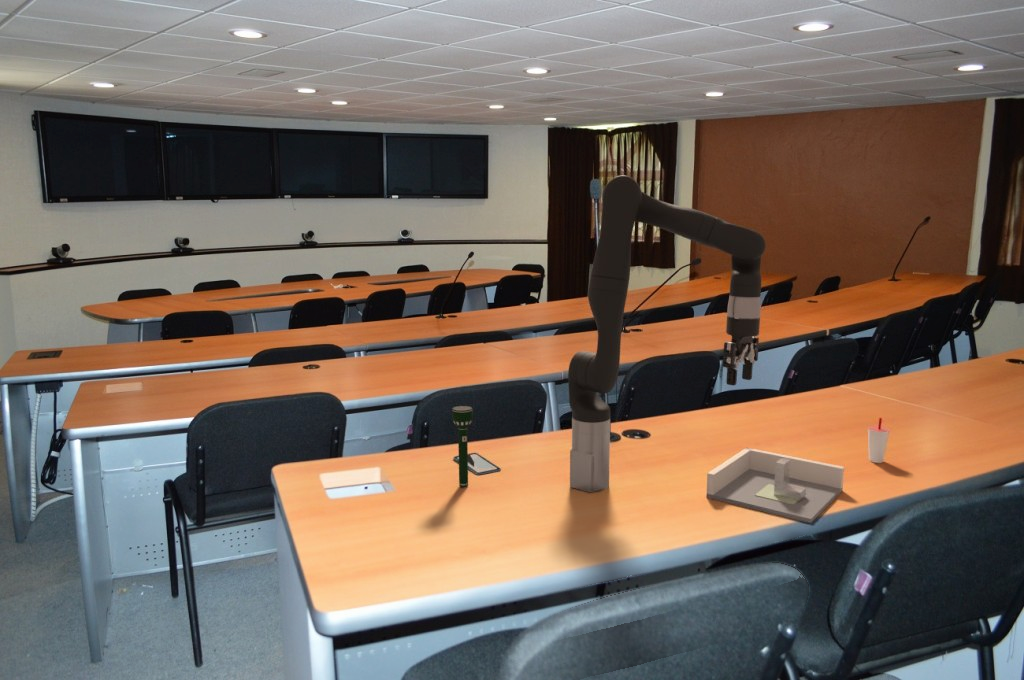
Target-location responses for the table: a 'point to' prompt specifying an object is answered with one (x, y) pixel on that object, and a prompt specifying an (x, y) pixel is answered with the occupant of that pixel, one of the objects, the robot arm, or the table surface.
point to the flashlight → (462, 439)
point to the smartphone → (479, 464)
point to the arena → (754, 478)
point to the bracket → (786, 482)
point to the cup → (877, 442)
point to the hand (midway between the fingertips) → (739, 382)
